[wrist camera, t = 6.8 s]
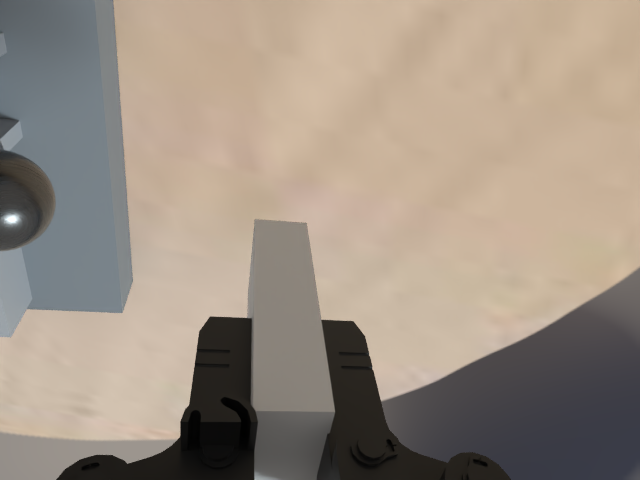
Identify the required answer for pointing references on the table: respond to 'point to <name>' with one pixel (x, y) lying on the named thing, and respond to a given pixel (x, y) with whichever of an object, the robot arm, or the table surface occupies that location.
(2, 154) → the lever
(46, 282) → the panel
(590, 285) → the table surface
